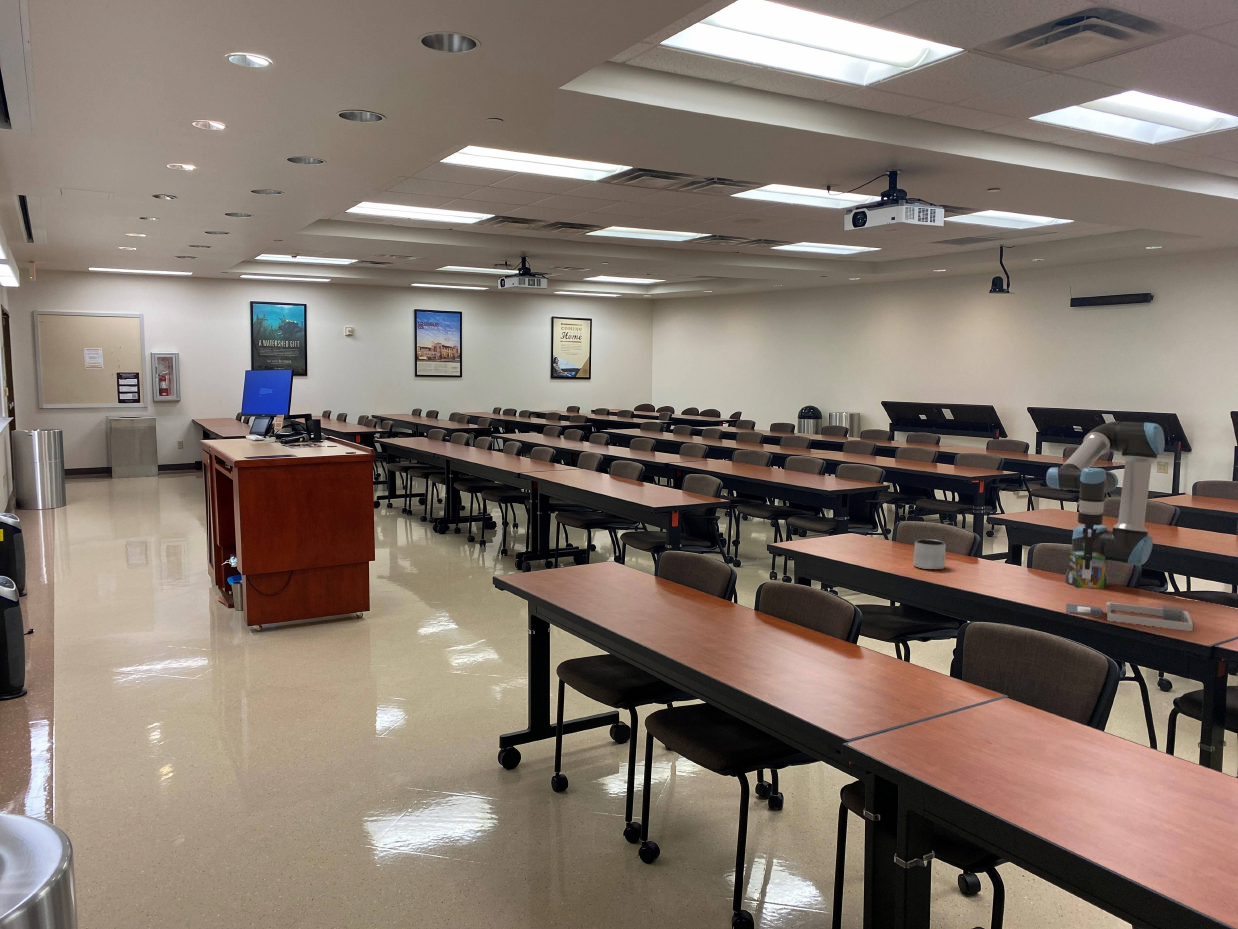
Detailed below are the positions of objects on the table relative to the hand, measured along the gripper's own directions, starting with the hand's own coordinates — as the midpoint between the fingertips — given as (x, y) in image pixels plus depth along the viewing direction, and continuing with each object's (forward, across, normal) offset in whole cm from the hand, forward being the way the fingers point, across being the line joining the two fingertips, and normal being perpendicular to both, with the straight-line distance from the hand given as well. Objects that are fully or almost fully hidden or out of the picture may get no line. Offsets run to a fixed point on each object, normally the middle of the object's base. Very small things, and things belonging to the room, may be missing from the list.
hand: (1086, 574), depth 296 cm
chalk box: (+4, 0, 0) cm, 4 cm away
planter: (+13, -41, -58) cm, 72 cm away
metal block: (+13, +1, +26) cm, 29 cm away
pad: (+13, 0, 0) cm, 13 cm away
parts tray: (+13, +1, +19) cm, 23 cm away
